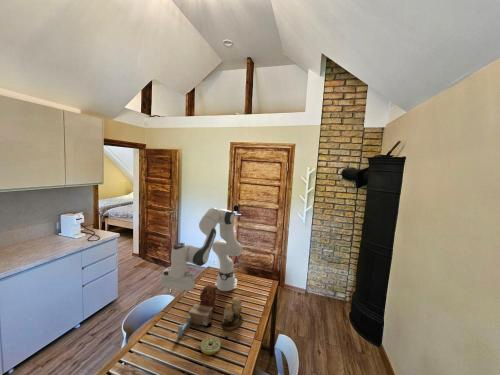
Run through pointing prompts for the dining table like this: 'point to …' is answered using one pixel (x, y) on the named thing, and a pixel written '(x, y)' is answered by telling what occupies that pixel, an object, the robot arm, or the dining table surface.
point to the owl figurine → (232, 315)
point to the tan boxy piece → (200, 314)
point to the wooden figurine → (208, 296)
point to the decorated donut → (210, 345)
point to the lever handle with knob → (183, 327)
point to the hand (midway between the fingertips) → (177, 294)
